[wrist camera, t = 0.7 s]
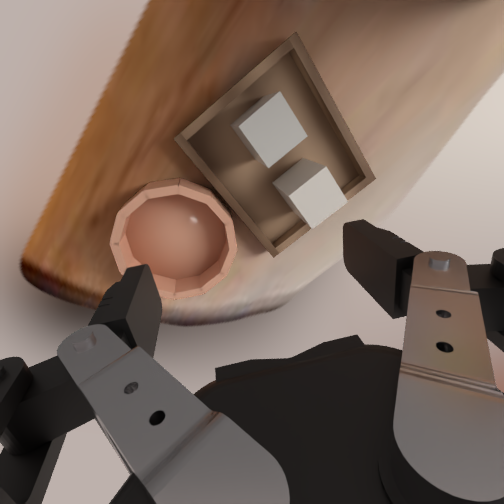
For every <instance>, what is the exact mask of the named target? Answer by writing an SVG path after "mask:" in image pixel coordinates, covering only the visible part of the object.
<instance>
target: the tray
mask: <svg viewBox="0 0 504 504" xmlns="http://www.w3.org/2000/svg"><path fill="white" fill-rule="evenodd" d="M279 91H280V92H281V94H282V95H283V97H284V98H285V100H286V102H287V103H288V105H289V107H290V108H291V110H292V111H293V113H294V115H295V116H296V118H297V120H298V121H299V123H300V124H301V126H302V128H303V129H304V131H305V132H306V134H307V137H306V138H305V139H304V140H303V141H301V142H300V143H299V144H298V145H296V146H295V147H294V148H293V149H292V150H290V151H289V152H288V153H287V154H285V155H284V156H283V157H282V158H281V159H279V160H278V161H277V162H276V163H274V164H273V165H272V166H271V167H270V168H267V167H266V166H264V165H263V164H261V163H260V162H258V161H257V160H255V159H254V157H253V156H252V155H251V153H250V152H249V150H248V149H247V148H246V146H245V145H244V144H243V142H242V141H241V139H240V138H239V137H238V135H237V134H236V133H235V131H234V130H233V129H232V127H231V126H230V124H232V123H233V122H234V121H235V120H236V119H237V118H239V117H240V116H241V115H242V114H243V113H244V112H246V111H247V110H248V109H249V108H250V107H251V106H253V105H254V104H255V103H256V102H257V101H259V100H260V99H261V98H262V97H263V96H266V95H269V94H272V93H275V92H279ZM174 140H175V141H176V142H177V144H178V145H179V146H180V147H181V148H182V149H183V151H184V152H185V153H186V154H187V155H188V157H189V158H190V159H191V160H192V161H193V163H194V164H195V165H196V166H197V167H198V169H199V170H200V171H201V172H202V173H203V174H204V176H205V177H206V178H207V179H208V180H209V182H210V183H211V184H212V185H213V186H214V188H215V189H216V190H217V191H218V192H219V193H220V195H221V196H222V197H223V198H224V199H225V201H226V202H227V203H228V204H229V205H230V207H231V208H232V209H233V210H234V211H235V212H236V214H237V215H238V216H239V217H240V218H241V220H242V221H243V222H244V223H245V224H246V226H247V227H248V228H249V229H250V230H251V231H252V233H253V234H254V235H255V236H256V237H257V239H258V240H259V241H260V242H261V243H262V245H263V246H264V247H265V248H266V249H267V250H268V252H269V253H270V254H271V255H272V256H273V258H274V257H275V256H276V255H278V254H279V253H280V252H282V251H283V250H284V249H285V248H287V247H288V246H289V245H291V244H292V243H293V242H295V241H296V240H297V239H298V238H300V237H301V236H302V235H304V234H305V233H306V232H308V231H309V230H310V229H311V228H310V227H309V226H308V225H307V224H306V223H305V222H304V221H303V220H302V219H301V218H300V217H299V216H298V215H296V214H295V213H294V212H293V211H292V209H291V208H290V207H289V205H288V204H287V202H286V201H285V200H284V198H283V197H282V196H281V194H280V193H279V191H278V190H277V189H276V187H275V186H274V185H273V182H274V181H275V180H276V179H277V178H279V177H280V176H281V175H282V174H284V173H285V172H286V171H287V170H289V169H290V168H291V167H292V166H294V165H295V164H296V163H297V162H298V161H300V160H301V159H302V158H305V159H308V160H310V161H313V162H316V163H319V164H322V165H324V166H326V167H327V168H328V170H329V171H330V173H331V175H332V176H333V178H334V180H335V181H336V183H337V184H338V186H339V188H340V189H341V191H342V193H343V194H344V196H345V197H346V199H347V201H348V200H349V199H350V198H352V197H353V196H354V195H356V194H357V193H358V192H359V191H361V190H362V189H363V188H365V187H366V186H367V185H368V184H370V183H371V182H372V181H374V180H375V179H376V178H375V176H374V174H373V172H372V171H371V169H370V167H369V165H368V163H367V161H366V159H365V158H364V156H363V154H362V152H361V150H360V148H359V146H358V145H357V143H356V141H355V139H354V137H353V135H352V134H351V132H350V130H349V128H348V126H347V124H346V122H345V121H344V119H343V117H342V115H341V113H340V111H339V110H338V108H337V106H336V104H335V102H334V100H333V98H332V97H331V95H330V93H329V91H328V89H327V87H326V86H325V84H324V82H323V80H322V78H321V76H320V74H319V73H318V71H317V69H316V67H315V65H314V63H313V62H312V60H311V58H310V56H309V54H308V52H307V50H306V49H305V47H304V45H303V43H302V41H301V39H300V37H299V36H298V34H297V32H295V33H294V34H293V35H292V36H290V37H289V38H288V39H287V40H286V41H285V42H284V43H282V44H281V45H280V46H279V47H278V48H277V49H276V50H274V51H273V52H272V53H271V54H270V55H269V56H268V57H266V58H265V59H264V60H263V61H262V62H261V63H260V64H258V65H257V66H256V67H255V68H254V69H253V70H252V71H250V72H249V73H248V74H247V75H246V76H245V77H243V78H242V79H241V80H240V81H239V82H238V83H237V84H235V85H234V86H233V87H232V88H231V89H230V90H229V91H227V92H226V93H225V94H224V95H223V96H222V97H221V98H219V99H218V100H217V101H216V102H215V103H214V104H213V105H211V106H210V107H209V108H208V109H207V110H206V111H205V112H203V113H202V114H201V115H200V116H199V117H198V118H197V119H195V120H194V121H193V122H192V123H191V124H190V125H189V126H187V127H186V128H185V129H184V130H183V131H182V132H181V133H179V134H178V135H177V136H176V137H175V138H174Z"/></svg>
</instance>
